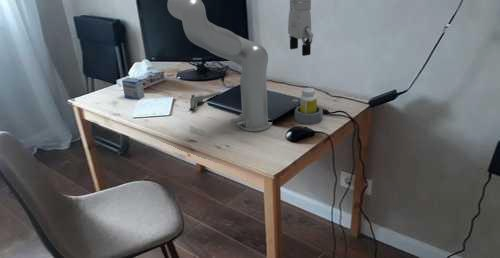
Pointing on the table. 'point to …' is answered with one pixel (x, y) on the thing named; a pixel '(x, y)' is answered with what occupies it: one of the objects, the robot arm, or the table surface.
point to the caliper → (200, 98)
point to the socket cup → (309, 116)
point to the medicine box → (133, 88)
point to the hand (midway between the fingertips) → (299, 51)
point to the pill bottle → (308, 101)
